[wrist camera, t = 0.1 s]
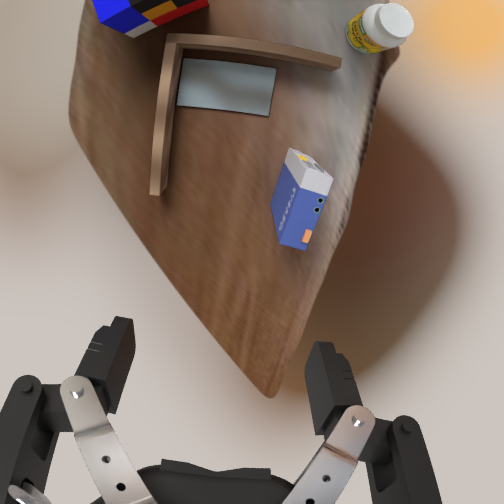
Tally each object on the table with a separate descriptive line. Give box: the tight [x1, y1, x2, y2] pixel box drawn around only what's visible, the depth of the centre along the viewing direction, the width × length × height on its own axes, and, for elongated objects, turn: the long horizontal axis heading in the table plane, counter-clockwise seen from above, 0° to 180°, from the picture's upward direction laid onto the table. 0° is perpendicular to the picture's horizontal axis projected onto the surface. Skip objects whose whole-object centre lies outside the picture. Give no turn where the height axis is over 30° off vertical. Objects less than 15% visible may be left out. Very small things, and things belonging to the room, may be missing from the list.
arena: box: [150, 33, 342, 196], centre depth 33 cm, size 19×19×4 cm
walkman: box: [270, 148, 333, 251], centre depth 33 cm, size 8×3×12 cm, turn 163°
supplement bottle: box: [346, 3, 414, 54], centre depth 25 cm, size 5×5×10 cm
